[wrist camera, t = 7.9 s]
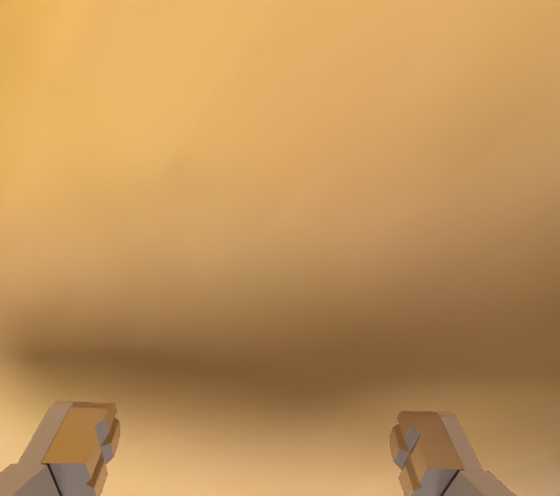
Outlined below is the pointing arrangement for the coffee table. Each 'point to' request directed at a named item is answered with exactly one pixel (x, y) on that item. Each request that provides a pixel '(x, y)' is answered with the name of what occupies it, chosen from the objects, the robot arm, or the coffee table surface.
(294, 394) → the coffee table surface
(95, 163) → the coffee table surface
